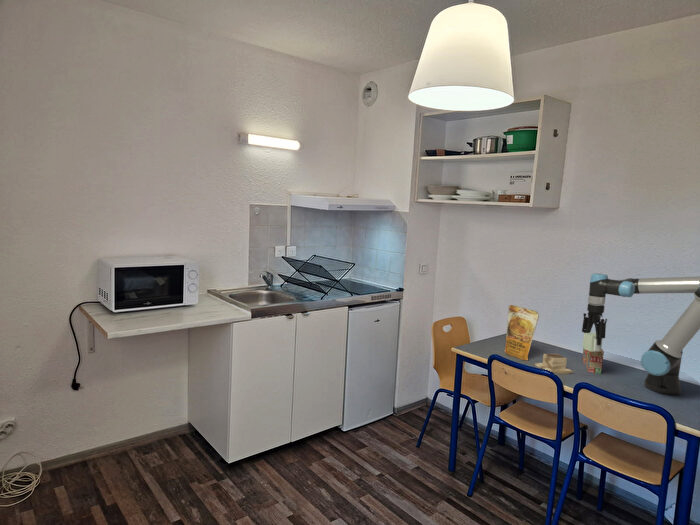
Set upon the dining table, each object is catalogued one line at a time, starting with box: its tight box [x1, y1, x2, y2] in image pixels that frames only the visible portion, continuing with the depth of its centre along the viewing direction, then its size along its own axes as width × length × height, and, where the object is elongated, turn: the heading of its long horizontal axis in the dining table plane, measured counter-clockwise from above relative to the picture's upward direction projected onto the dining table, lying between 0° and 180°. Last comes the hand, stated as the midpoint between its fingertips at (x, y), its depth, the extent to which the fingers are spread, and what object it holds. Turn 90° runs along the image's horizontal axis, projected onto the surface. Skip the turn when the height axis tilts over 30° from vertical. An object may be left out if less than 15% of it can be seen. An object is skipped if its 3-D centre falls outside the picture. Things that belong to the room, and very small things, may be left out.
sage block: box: [582, 332, 603, 352], centre depth 243 cm, size 6×6×8 cm
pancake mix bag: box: [504, 304, 540, 361], centre depth 270 cm, size 7×19×28 cm, turn 31°
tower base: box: [534, 353, 574, 375], centre depth 251 cm, size 14×13×7 cm
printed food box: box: [581, 347, 605, 375], centre depth 259 cm, size 21×6×12 cm, turn 163°
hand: (591, 348), depth 243 cm, fingers closed on sage block, 6 cm apart
